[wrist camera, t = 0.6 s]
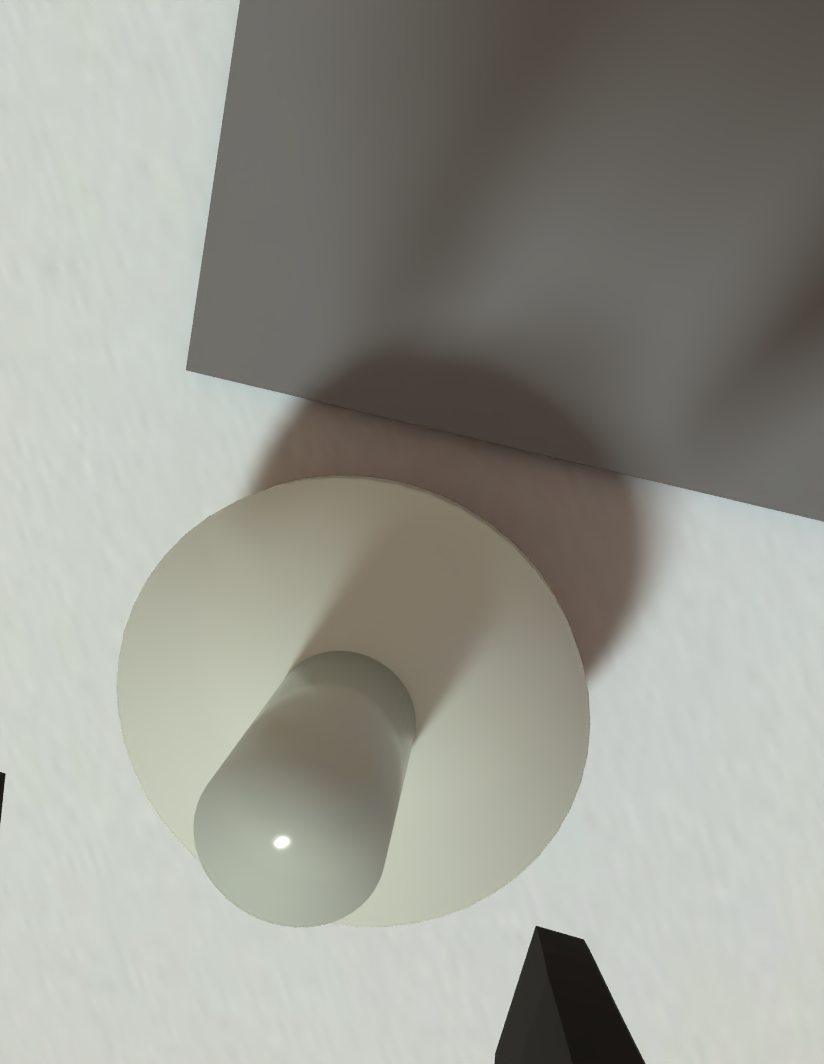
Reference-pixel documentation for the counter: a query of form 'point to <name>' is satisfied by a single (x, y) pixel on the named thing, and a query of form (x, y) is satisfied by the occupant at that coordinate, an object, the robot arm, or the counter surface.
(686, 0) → the mat
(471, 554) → the lid
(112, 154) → the counter surface
